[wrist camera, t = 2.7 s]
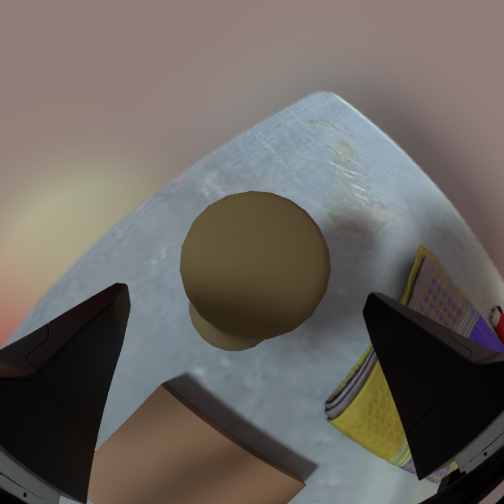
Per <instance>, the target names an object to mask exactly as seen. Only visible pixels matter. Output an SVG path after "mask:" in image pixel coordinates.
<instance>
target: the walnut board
mask: <svg viewBox="0 0 504 504" xmlns="http://www.w3.org/2000/svg"><path fill="white" fill-rule="evenodd" d="M305 486H306V484H305V483H304V482H303V481H302V479H301V478H300V477H298V476H296V475H295V474H293V473H291V472H289V471H287V470H285V469H284V468H282V467H280V466H278V465H277V464H275V463H273V462H271V461H270V460H268V459H266V458H265V457H263V456H262V455H260V454H258V453H257V452H255V451H254V450H252V449H250V448H249V447H247V446H246V445H244V444H243V443H241V442H240V441H238V440H237V439H236V438H234V437H233V436H231V435H230V434H228V433H227V432H226V431H224V430H223V429H221V428H220V427H219V426H217V425H216V424H215V423H213V422H212V421H211V420H209V419H208V418H207V417H206V416H204V415H203V414H202V413H200V412H199V411H198V410H197V409H195V408H194V407H193V406H192V405H191V404H189V403H188V402H187V401H186V400H185V399H183V398H182V397H181V396H180V395H179V394H178V393H176V392H175V391H174V390H173V389H172V388H171V387H170V386H169V385H167V384H166V383H165V382H164V383H162V384H161V385H160V386H159V387H158V388H157V389H156V390H155V391H154V392H153V393H152V394H151V395H150V396H149V397H148V398H147V399H146V401H145V402H144V403H143V404H142V405H141V406H140V407H139V408H138V409H137V410H136V411H135V412H134V413H133V414H132V415H131V416H130V417H129V418H128V419H127V420H126V421H125V422H124V423H123V424H122V425H121V426H120V427H119V428H118V429H117V430H116V431H115V432H114V433H113V434H112V436H111V437H110V438H109V439H108V440H107V441H106V442H105V443H104V444H103V445H102V446H101V447H100V448H99V449H98V450H97V451H96V452H95V453H94V458H93V463H92V469H91V475H90V482H89V489H88V496H87V498H88V499H89V500H90V501H91V502H93V503H94V504H287V503H288V502H289V501H290V500H291V499H293V498H294V497H295V496H296V495H297V494H298V493H299V492H300V491H301V490H302V489H303V488H304V487H305Z"/></svg>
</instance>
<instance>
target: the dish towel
mask: <svg viewBox="0 0 504 504" xmlns="http://www.w3.org/2000/svg"><path fill="white" fill-rule="evenodd" d="M398 302H399V303H401V304H403V305H405V306H407V307H409V308H411V309H413V310H415V311H417V312H419V313H421V314H422V315H424V316H426V317H428V318H430V319H432V320H434V321H436V322H438V323H440V324H441V325H443V326H445V327H446V328H449V329H451V330H453V331H455V332H457V333H459V334H460V335H462V336H464V337H466V338H468V339H471V340H473V341H475V342H477V343H479V344H481V345H483V346H485V347H487V348H490V349H492V350H494V351H497V352H504V346H503V344H502V343H501V341H500V340H499V339H498V338H497V337H496V335H495V334H494V333H493V332H492V331H491V330H490V328H489V327H488V325H487V324H486V322H485V321H484V319H483V318H482V316H481V315H480V314H479V312H478V311H477V310H476V309H475V308H474V307H473V305H472V304H471V303H470V302H469V301H468V300H467V298H466V297H465V295H464V294H463V293H462V292H461V291H460V290H459V289H458V288H457V287H456V286H455V285H454V283H453V282H452V280H451V279H450V277H449V276H448V275H446V273H445V272H444V271H443V269H442V268H441V266H440V264H439V263H438V261H437V260H436V259H435V258H434V256H433V255H432V254H431V253H430V252H429V251H428V250H427V249H426V248H424V247H423V246H419V248H418V250H417V254H416V257H415V262H414V265H413V267H412V270H411V272H410V274H409V276H408V279H407V281H406V284H405V286H404V289H403V291H402V294H401V296H400V299H399V301H398ZM325 406H326V407H325V414H326V415H328V416H329V417H327V421H328V422H329V423H330V424H332V425H333V426H334V427H335V428H336V429H338V430H339V431H341V432H342V433H343V434H344V435H346V436H347V437H348V438H350V439H351V440H353V441H354V442H356V443H358V444H359V445H361V446H362V447H364V448H365V449H367V450H369V451H370V452H372V453H373V454H375V455H377V456H378V457H380V458H383V459H385V460H386V461H387V462H389V463H390V464H393V465H395V466H398V467H400V468H401V469H403V470H406V471H408V472H411V473H413V474H416V475H417V473H416V470H415V466H414V463H413V459H412V456H411V452H410V449H409V446H408V442H407V439H406V435H405V432H404V429H403V426H402V423H401V420H400V417H399V414H398V412H397V409H396V406H395V403H394V400H393V397H392V395H391V392H390V389H389V387H388V384H387V381H386V379H385V376H384V373H383V371H382V368H381V366H380V363H379V361H378V358H377V356H376V353H375V351H374V348H373V346H372V343H371V345H370V346H369V347H368V349H367V350H366V352H365V353H364V354H363V356H362V357H361V359H360V360H359V361H358V362H357V364H356V365H355V366H354V367H353V368H352V370H351V371H350V372H349V374H348V375H347V376H346V378H345V379H344V380H343V381H342V383H341V384H340V385H339V386H338V388H337V389H336V390H335V391H334V392H333V394H332V395H331V396H330V397H329V398H328V400H327V401H326V402H325ZM457 468H458V466H457V464H456V462H455V461H454V462H452V463H451V464H449V465H447V466H446V467H444V468H442V469H441V470H439V471H437V472H435V473H433V474H432V475H430V476H428V477H426V478H425V479H427V480H430V481H431V482H434V483H437V484H438V485H440V482H441V479H442V478H443V477H445V476H446V475H448V474H449V473H451V472H452V471H454V470H455V469H457Z"/></svg>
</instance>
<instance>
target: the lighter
mask: <svg viewBox="0 0 504 504" xmlns="http://www.w3.org/2000/svg"><path fill="white" fill-rule="evenodd" d="M490 317H491V319H489V321H490V322H491V324H492V325H493V328H494V330H495V332H496V334H497V335H498V337H499V339H500V341H501V343H502V344H503V346H504V313H503V311H502V309H501V308H500V306H497V307H496V308H495V309H492V312H491V315H490Z"/></svg>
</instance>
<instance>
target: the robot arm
mask: <svg viewBox="0 0 504 504" xmlns="http://www.w3.org/2000/svg"><path fill="white" fill-rule="evenodd" d="M130 307H131V304H130V297H129V291H128V286H127V284H124V283H115V284H113V285H111V286H110V287H108V288H106V289H104V290H103V291H101V292H99V293H97V294H96V295H94V296H92V297H91V298H89V299H87V300H85V301H84V302H82V303H80V304H79V305H77V306H75V307H73V308H72V309H70V310H68V311H67V312H65V313H63V314H62V315H60V316H58V317H57V318H55V319H54V320H52V321H50V322H49V323H48V324H45V325H44V326H42V327H41V328H39V329H37V330H35V331H34V332H32V333H30V334H29V335H27V336H25V337H23V338H21V339H19V340H18V341H16V342H14V343H12V344H10V345H8V346H6V347H4V348H2V349H1V350H0V504H59V499H60V495H61V496H63V497H66V498H68V499H71V500H74V501H76V502H79V503H82V504H86V503H87V496H88V489H89V482H90V475H91V469H92V463H93V458H94V453H95V450H94V449H95V447H96V442H97V437H98V433H99V428H100V424H101V420H102V416H103V411H104V408H105V404H106V400H107V396H108V392H109V389H110V385H111V382H112V378H113V375H114V371H115V368H116V365H117V361H118V358H119V355H120V352H121V349H122V345H123V341H124V336H125V332H126V327H127V322H128V317H129V313H130ZM363 317H364V320H365V323H366V326H367V329H368V333H369V336H370V339H371V343H372V346H373V348H374V351H375V353H376V356H377V358H378V361H379V363H380V366H381V368H382V371H383V373H384V376H385V379H386V381H387V384H388V387H389V389H390V392H391V395H392V397H393V400H394V403H395V406H396V409H397V412H398V414H399V417H400V420H401V423H402V426H403V429H404V432H405V435H406V439H407V442H408V446H409V449H410V452H411V456H412V459H413V463H414V466H415V470H416V473H417V477H418V479H419V481H420V480H422V479H424V478H426V477H428V476H430V475H432V474H433V473H435V472H437V471H439V470H441V469H442V468H444V467H446V466H447V465H449V464H451V463H452V462H454V461H455V462H456V464H457V466H458V468H457V469H455V470H454V471H452V472H451V473H449V474H448V475H446V476H445V477H443V478H442V479H441V482H440V485H439V488H438V491H437V493H436V494H435V495H433V496H431V497H430V498H428V499H426V500H424V501H422V502H420V503H419V504H504V352H497V351H494V350H492V349H490V348H487V347H485V346H483V345H481V344H479V343H477V342H475V341H473V340H471V339H468V338H466V337H464V336H462V335H460V334H459V333H457V332H455V331H453V330H451V329H449V328H446V327H445V326H443V325H441V324H440V323H438V322H436V321H434V320H432V319H430V318H428V317H426V316H424V315H422V314H421V313H419V312H417V311H415V310H413V309H411V308H409V307H407V306H405V305H403V304H401V303H399V302H397V301H395V300H394V299H392V298H390V297H388V296H386V295H384V294H382V293H380V292H372V293H370V294H369V295H368V298H367V301H366V303H365V306H364V309H363Z"/></svg>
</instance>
